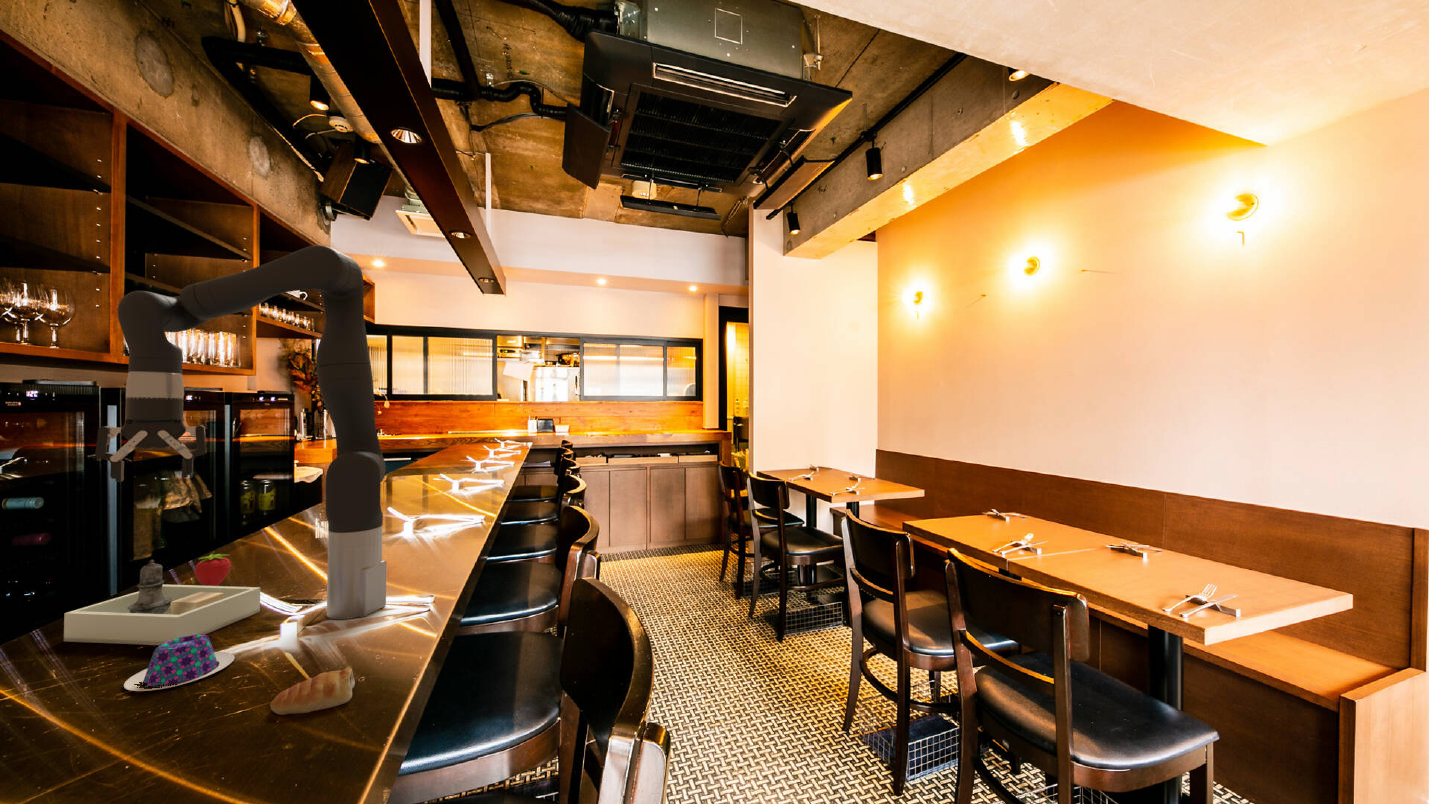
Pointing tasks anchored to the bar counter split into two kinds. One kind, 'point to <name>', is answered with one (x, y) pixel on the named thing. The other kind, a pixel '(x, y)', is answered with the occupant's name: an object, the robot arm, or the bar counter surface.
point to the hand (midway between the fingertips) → (153, 479)
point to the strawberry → (212, 569)
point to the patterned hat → (180, 663)
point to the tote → (159, 617)
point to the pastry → (316, 693)
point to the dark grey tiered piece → (151, 591)
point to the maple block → (194, 602)
